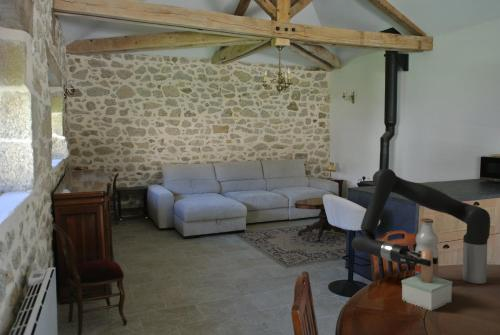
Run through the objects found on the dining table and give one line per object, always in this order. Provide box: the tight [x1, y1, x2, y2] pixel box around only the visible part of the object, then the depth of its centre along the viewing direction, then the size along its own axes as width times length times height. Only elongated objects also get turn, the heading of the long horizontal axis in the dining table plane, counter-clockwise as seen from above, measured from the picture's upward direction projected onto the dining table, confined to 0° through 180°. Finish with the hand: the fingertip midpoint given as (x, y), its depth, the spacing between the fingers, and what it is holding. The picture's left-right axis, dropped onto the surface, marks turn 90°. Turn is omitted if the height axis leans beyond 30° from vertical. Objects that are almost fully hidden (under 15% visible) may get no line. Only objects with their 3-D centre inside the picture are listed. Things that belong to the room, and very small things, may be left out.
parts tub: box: [401, 283, 453, 312], centre depth 150 cm, size 14×12×7 cm
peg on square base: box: [401, 249, 453, 293], centre depth 150 cm, size 14×12×14 cm
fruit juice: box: [414, 218, 439, 278], centre depth 171 cm, size 9×9×28 cm
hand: (433, 262), depth 147 cm, fingers closed on peg on square base, 4 cm apart
